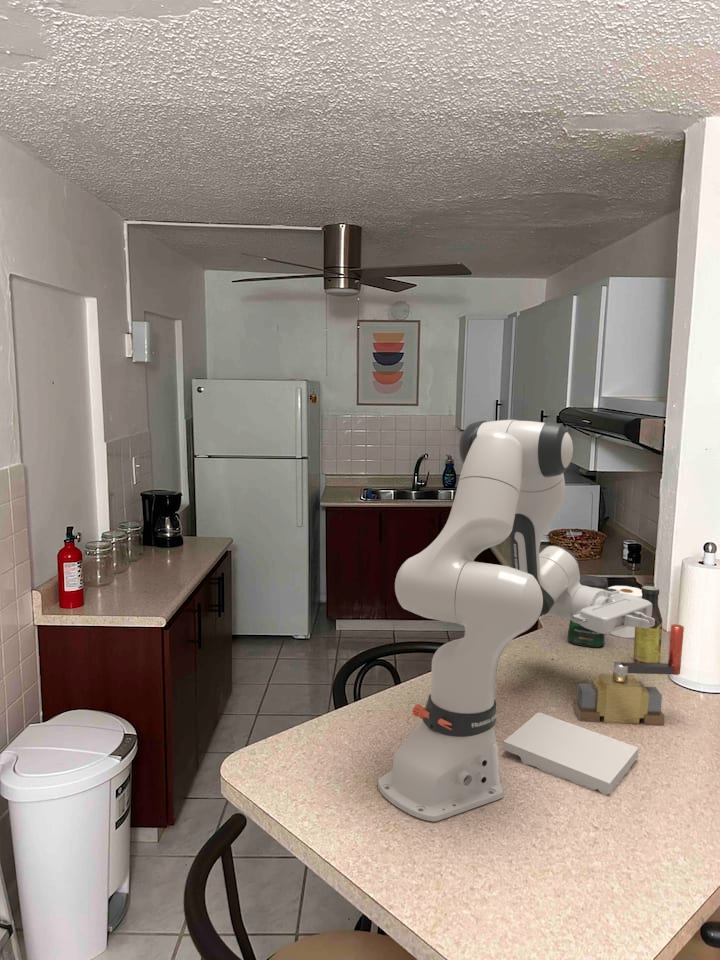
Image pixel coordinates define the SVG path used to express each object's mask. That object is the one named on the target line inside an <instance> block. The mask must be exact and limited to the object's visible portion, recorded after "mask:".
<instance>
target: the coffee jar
mask: <svg viewBox="0 0 720 960" xmlns="http://www.w3.org/2000/svg"><path fill="white" fill-rule="evenodd" d="M579 582H580V584H581V585H584V586H589V587H592V588H599V589H608V587H609V581H608V578H607V577H603V576H602V577H601V576H595V575H587V574H581V573H580V581H579ZM567 630H568V632H567V640H568V642H570V643H571V644H575V645H578V646H584V647H590V648H591V647H592V648H599V647H601V646H602V647H603V646H604V644H605V642H606V641H605V640H606V634H602V633H598V632H595V631H592V630H590V629H587V628H585V627H582V626H581V625H580V624H578V623H575V622H573V621H572V620H570V619H569V624H568V629H567Z"/></svg>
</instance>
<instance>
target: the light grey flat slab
mask: <svg viewBox="0 0 720 960" xmlns="http://www.w3.org/2000/svg"><path fill="white" fill-rule="evenodd" d="M502 744H503V746H502V749H503V750H505V751H506V752H508V753H511V754H514V755H516V756H518V757H519V758H520V760H521V762H522V764H525V765H527V766H533V767H535V768H538V769H539V770H540V771H543V772H544V773H548V774H550V775H554V776H555V777H558V778H561V779H563V778H564V780H566V781H570V782H571V781H573V782H572V783H574V782H575V783H574V784H576V783H578V784H577V785H579V784H580V785H579V786H582V785H583V786H582V787H584V786H586V787H585V788H586V789H589V790H593V791H599V792H600V794H602V795H605V796H608V795H611V793H612V792H613V791H614V790H615V789H616V787H617V786H618V785H619V784H620V783H621V782H622V780H623V778H624V777H625V775H626V774H627V773H629V771H630V769H631V768H632V765H633V764H634V763H636V760H637V759H638V757H639V750H640V749H639V747H638V746H636V745H632V744H629V743H626V742H624V741H621V740H618V739H615V738H612V737H610V736H608V735H604V734H601V733H599V732H595V731H592V730H590V729H588V728H584V727H582V726H580V725H576V724H574V723H570V722H568V721H566V720H562V719H559V718H556V717H554V716H551V715H547V714H545V713H542V712H539V711H538V712H537V713H535V714H534V715H533V716H532V717H531V718H529V720H527V721H526V722H524V724H523V725H521V726H520V727H519V728H518V729H517V730H516V731H514V732H513V733H512V734H510V735H509V736H508V737H507V738H506V739H504V740H503V743H502Z"/></svg>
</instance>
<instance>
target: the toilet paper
mask: <svg viewBox="0 0 720 960" xmlns="http://www.w3.org/2000/svg"><path fill="white" fill-rule="evenodd" d="M609 588H610V589H611V588H613V589H618V590H619V591H620V593H624V594H629V595H632V596H636V597H639V598H642V592H641V591H642V588H641V589H640V588H639V587H634V586H633V587H632V586H628V585H612V586H608V589H609ZM609 634H610V635H612V636H615V637H620V638H623V639H625V638H626V639H633V638H634V636H635V627H629V626H627V627H624V628H622V629H619V630H616V631H614V632H611V633H609Z"/></svg>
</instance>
